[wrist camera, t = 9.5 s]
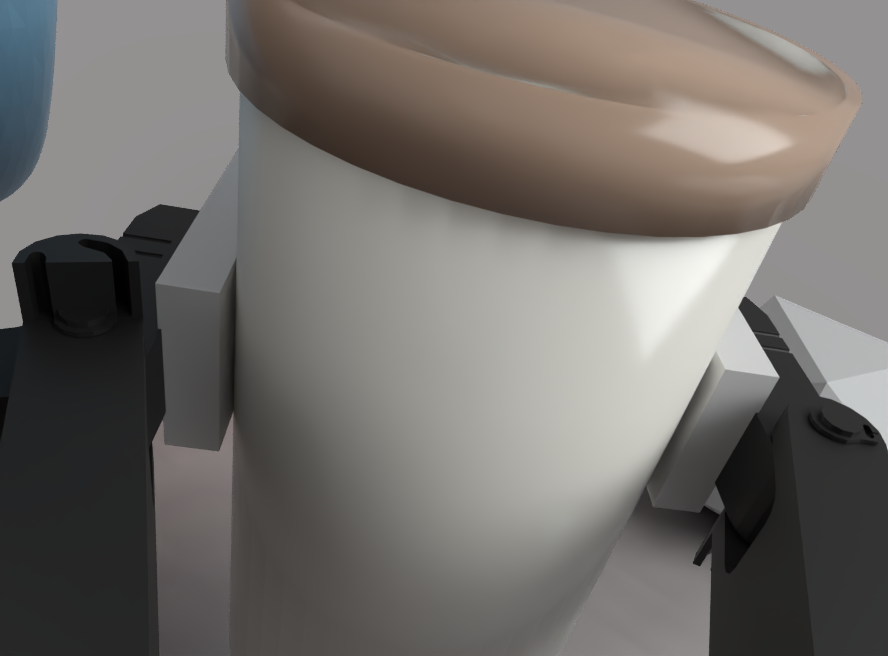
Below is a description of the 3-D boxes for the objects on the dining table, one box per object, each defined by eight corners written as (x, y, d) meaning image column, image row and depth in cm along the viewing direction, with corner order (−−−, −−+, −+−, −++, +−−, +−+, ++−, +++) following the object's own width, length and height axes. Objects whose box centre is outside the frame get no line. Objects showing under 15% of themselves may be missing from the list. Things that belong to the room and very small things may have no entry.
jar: (173, 778, 12) (112, 10, 5) (263, 470, 17) (295, -94, 10) (572, 817, 12) (1017, 186, 6) (537, 507, 18) (737, -1, 11)
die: (623, 416, 32) (629, 326, 23) (804, 340, 32) (877, 221, 23) (717, 599, 28) (766, 572, 20) (924, 515, 28) (1064, 450, 19)
